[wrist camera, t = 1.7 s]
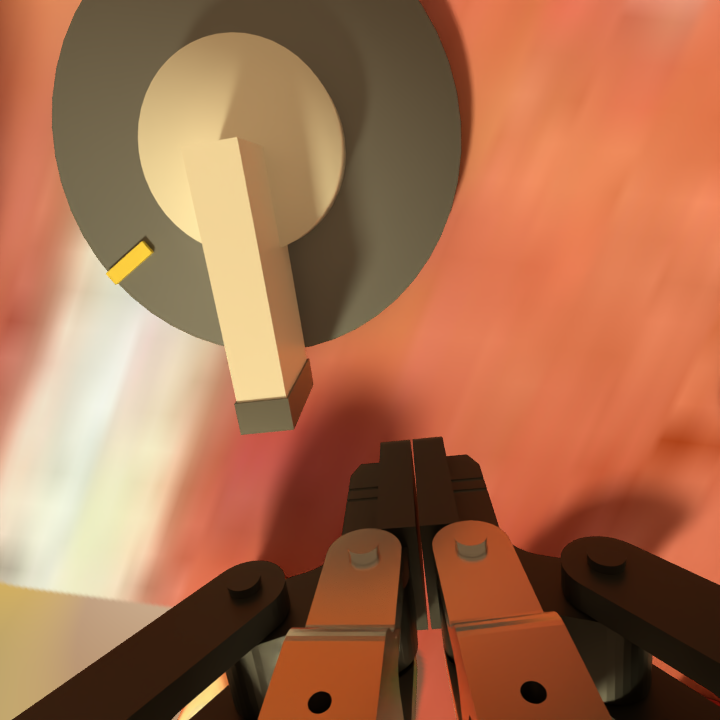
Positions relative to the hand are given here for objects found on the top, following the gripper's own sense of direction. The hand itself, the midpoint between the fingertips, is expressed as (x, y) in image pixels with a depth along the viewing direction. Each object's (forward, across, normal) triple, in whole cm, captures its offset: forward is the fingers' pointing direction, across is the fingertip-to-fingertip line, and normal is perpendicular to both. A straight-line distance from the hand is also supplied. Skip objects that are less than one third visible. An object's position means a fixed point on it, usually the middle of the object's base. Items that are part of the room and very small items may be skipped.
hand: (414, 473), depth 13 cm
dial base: (+20, +7, -10) cm, 23 cm away
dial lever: (+18, +7, -6) cm, 20 cm away
